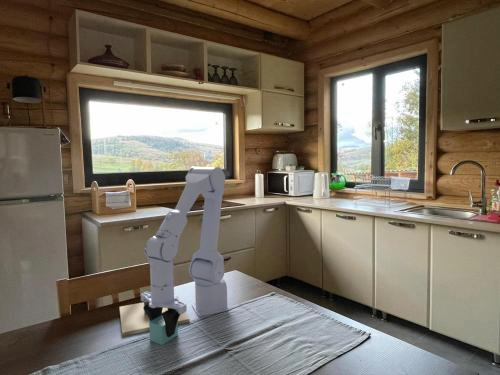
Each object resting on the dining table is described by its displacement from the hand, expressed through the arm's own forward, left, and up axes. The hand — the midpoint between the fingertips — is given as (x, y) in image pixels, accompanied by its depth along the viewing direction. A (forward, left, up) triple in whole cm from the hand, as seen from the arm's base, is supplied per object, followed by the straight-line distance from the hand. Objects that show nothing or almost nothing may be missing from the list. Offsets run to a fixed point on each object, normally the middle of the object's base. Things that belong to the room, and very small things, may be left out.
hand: (163, 332), depth 87 cm
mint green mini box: (0, 0, -1) cm, 1 cm away
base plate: (+1, -13, -1) cm, 13 cm away
